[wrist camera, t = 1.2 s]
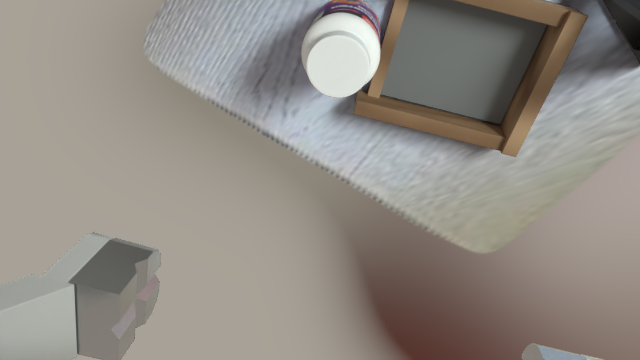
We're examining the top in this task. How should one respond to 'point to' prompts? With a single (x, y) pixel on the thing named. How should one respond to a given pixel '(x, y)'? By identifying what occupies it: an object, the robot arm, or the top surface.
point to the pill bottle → (342, 47)
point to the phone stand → (627, 21)
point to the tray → (526, 100)
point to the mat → (461, 58)
